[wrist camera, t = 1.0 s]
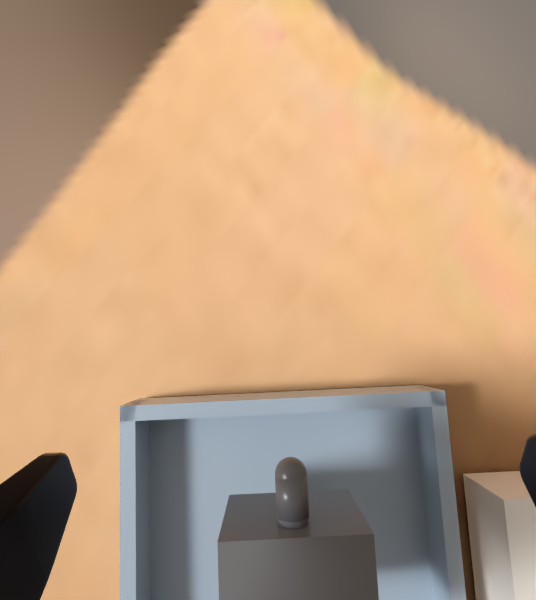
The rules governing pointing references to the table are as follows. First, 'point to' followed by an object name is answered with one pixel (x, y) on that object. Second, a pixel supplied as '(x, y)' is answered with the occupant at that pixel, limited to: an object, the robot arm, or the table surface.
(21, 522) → the robot arm
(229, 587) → the grey block with knob
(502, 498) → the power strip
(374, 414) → the tray
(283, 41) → the table surface
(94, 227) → the table surface
